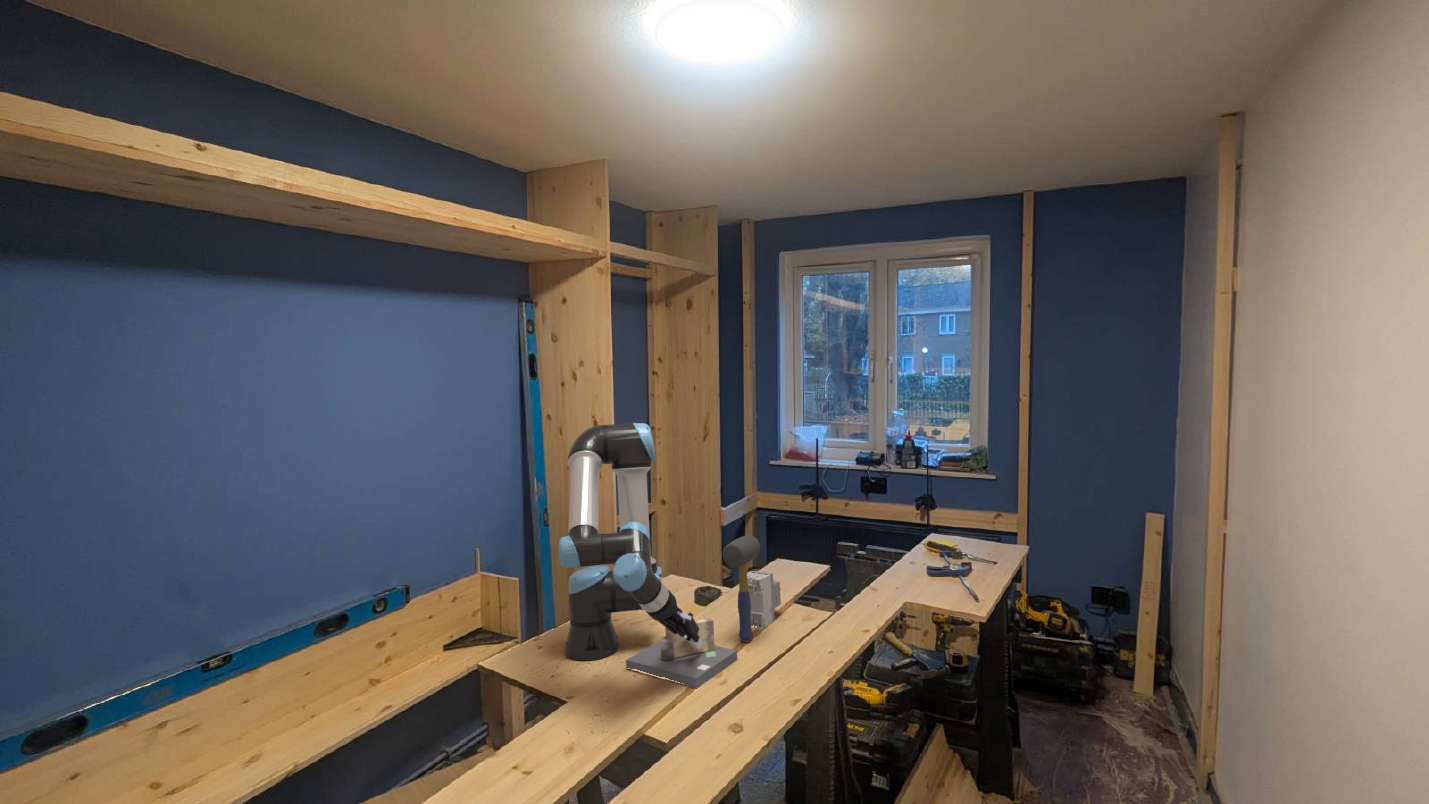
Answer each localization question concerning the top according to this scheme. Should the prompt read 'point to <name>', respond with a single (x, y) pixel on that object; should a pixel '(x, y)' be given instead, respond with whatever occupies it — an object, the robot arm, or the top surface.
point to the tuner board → (683, 664)
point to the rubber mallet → (742, 578)
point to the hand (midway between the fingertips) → (699, 644)
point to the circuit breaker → (763, 598)
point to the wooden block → (680, 646)
